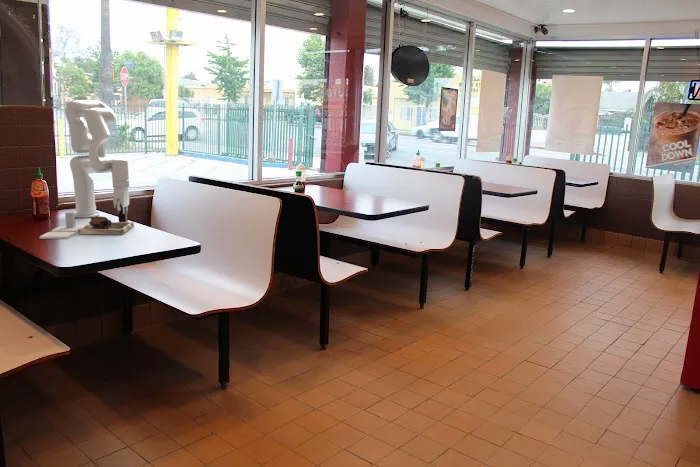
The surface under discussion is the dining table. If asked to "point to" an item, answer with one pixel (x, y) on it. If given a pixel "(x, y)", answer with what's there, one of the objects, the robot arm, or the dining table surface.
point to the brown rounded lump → (100, 223)
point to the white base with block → (63, 229)
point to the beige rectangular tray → (126, 226)
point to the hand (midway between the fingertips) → (123, 220)
